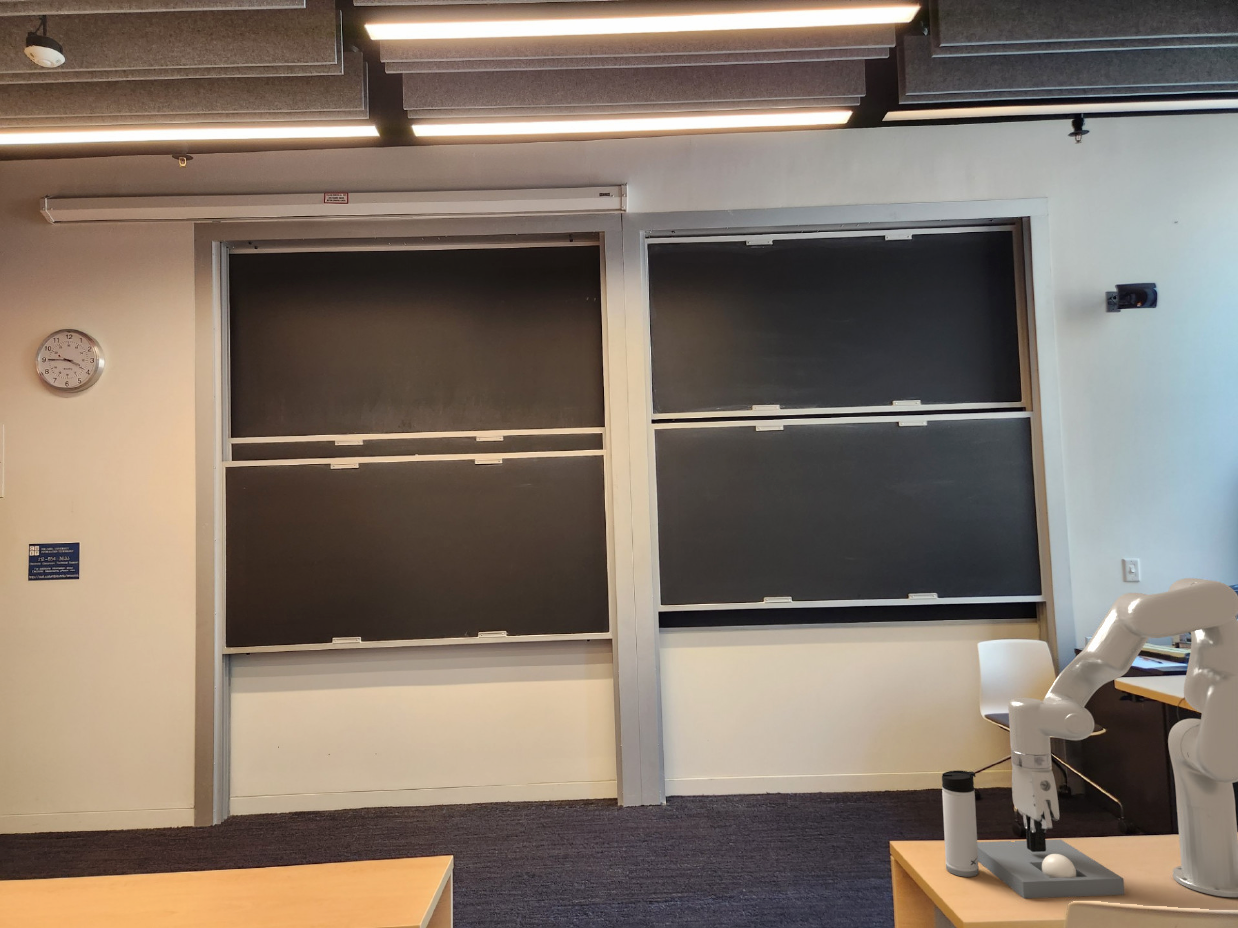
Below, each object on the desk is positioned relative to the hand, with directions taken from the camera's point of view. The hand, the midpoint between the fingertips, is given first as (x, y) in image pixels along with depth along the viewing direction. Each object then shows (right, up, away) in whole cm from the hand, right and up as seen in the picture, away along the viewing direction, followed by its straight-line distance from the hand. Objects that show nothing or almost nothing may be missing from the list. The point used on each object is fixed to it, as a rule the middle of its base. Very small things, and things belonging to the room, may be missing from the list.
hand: (1036, 849), depth 165 cm
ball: (0, 0, -8) cm, 8 cm away
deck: (0, -4, -3) cm, 5 cm away
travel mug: (-16, -4, -1) cm, 16 cm away
